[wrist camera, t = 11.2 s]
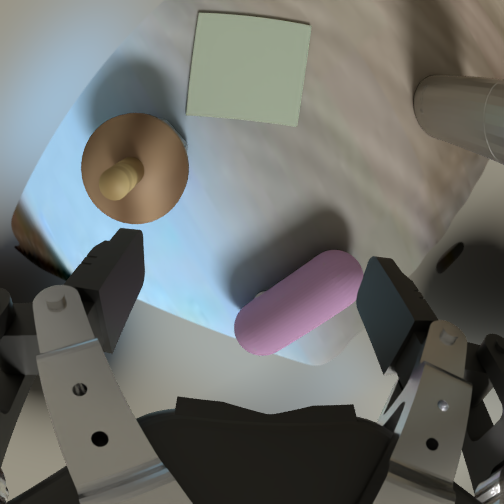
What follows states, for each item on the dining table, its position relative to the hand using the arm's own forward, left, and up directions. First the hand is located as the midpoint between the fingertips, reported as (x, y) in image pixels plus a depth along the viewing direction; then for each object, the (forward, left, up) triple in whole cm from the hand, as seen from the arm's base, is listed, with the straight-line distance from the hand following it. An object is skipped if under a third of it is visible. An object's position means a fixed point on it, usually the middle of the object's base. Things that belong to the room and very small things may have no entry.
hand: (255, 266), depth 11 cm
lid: (+11, +3, -22) cm, 25 cm away
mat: (+1, -9, -28) cm, 30 cm away
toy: (-10, +20, -29) cm, 36 cm away
